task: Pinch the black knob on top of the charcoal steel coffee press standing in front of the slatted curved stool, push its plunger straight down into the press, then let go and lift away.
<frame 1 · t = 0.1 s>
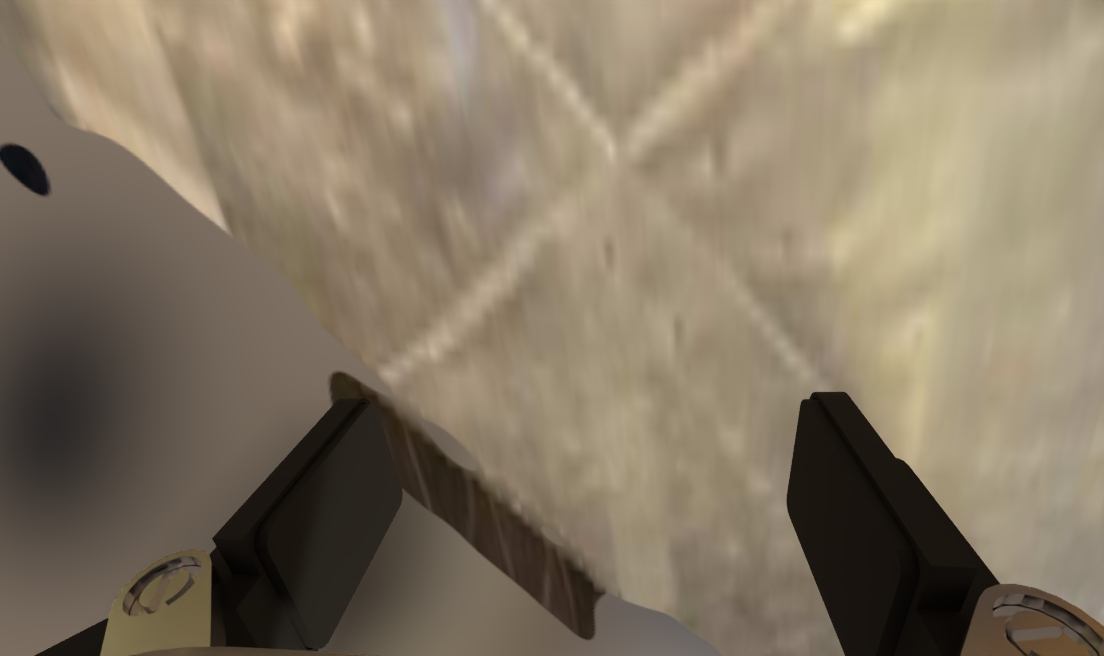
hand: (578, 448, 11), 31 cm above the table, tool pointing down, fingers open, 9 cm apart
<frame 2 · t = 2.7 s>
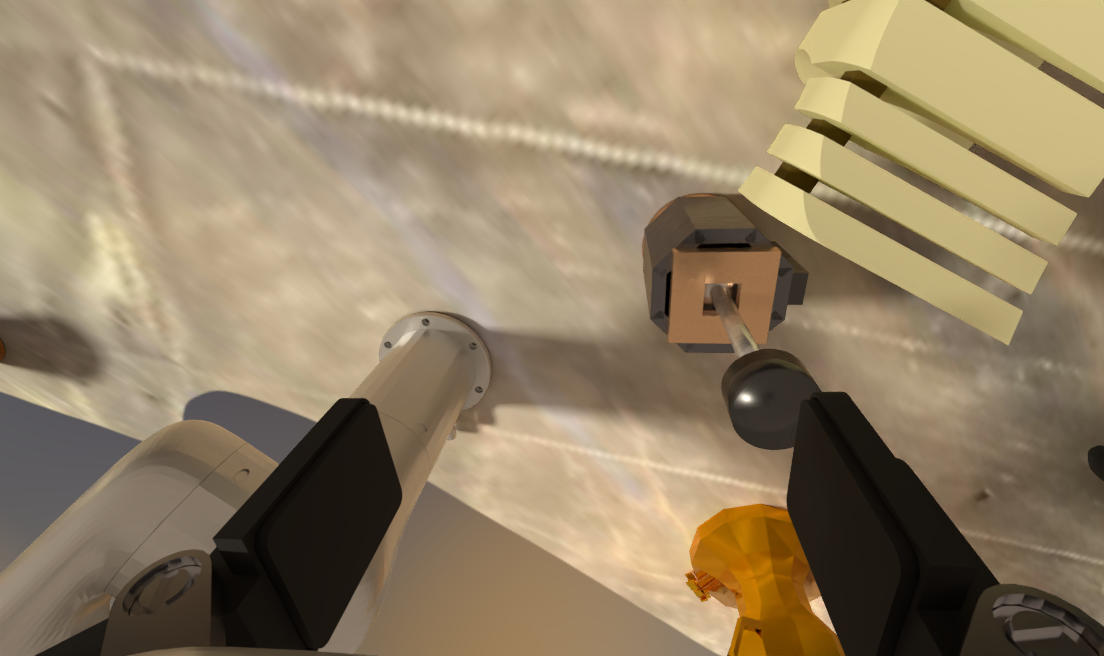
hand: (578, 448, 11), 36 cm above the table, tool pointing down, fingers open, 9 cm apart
plunger: (739, 336, 28), point 19 cm above the table, slide at 0.0 cm
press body: (694, 245, 45), on the table
trophy cup: (749, 556, 61), on the table
slatted curved stool: (919, 31, 36), on the table
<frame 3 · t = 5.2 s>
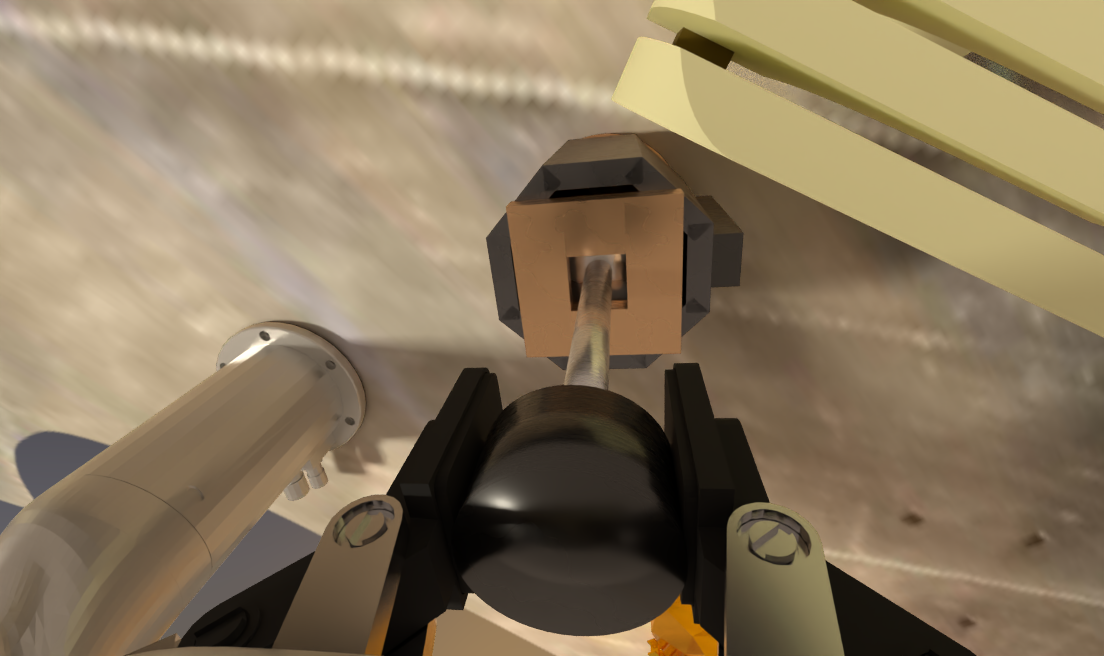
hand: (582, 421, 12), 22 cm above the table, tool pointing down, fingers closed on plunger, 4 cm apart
plunger: (590, 347, 15), point 19 cm above the table, slide at 0.0 cm, touching gripper
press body: (605, 212, 31), on the table
trophy cup: (727, 618, 48), on the table
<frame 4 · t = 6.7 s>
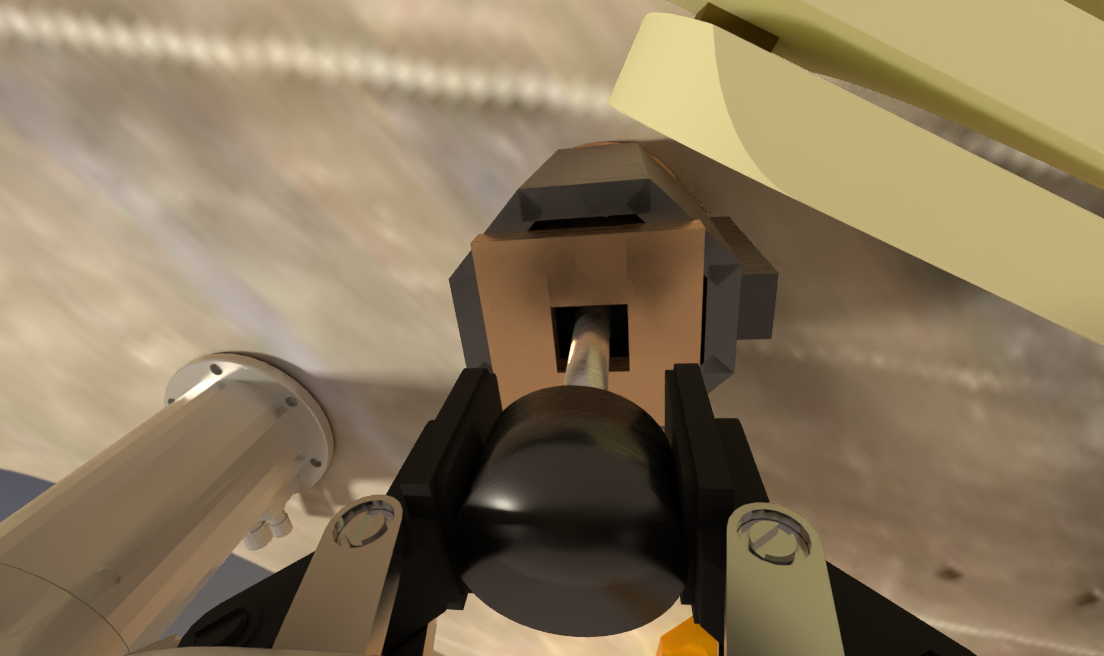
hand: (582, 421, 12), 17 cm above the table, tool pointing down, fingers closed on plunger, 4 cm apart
plunger: (590, 347, 15), point 14 cm above the table, slide at 5.1 cm, touching gripper
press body: (602, 233, 27), on the table
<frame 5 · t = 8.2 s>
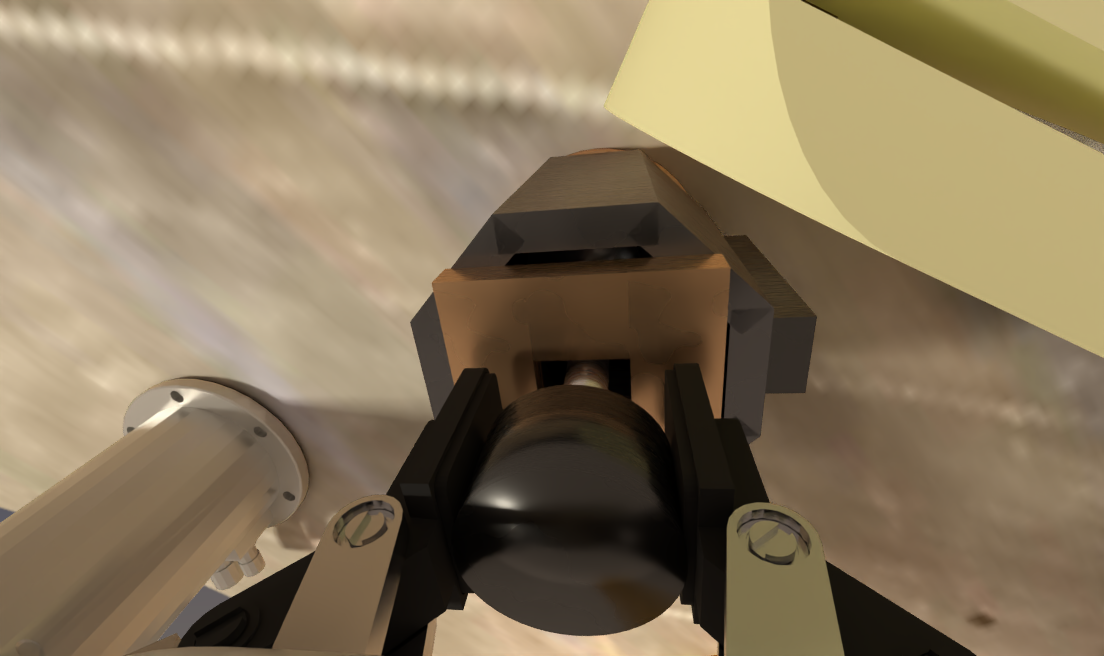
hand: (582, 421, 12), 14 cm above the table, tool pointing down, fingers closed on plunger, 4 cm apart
plunger: (590, 347, 15), point 10 cm above the table, slide at 8.4 cm, touching gripper
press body: (601, 250, 24), on the table
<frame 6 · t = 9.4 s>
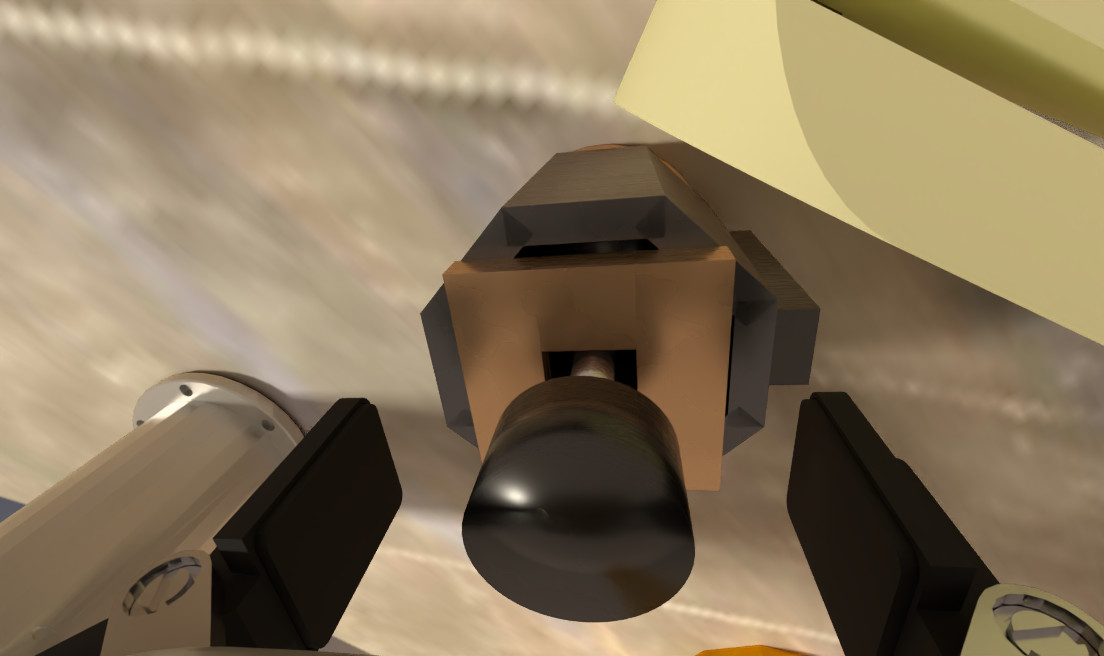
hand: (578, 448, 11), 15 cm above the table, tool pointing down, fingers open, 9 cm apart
plunger: (596, 341, 15), point 10 cm above the table, slide at 8.3 cm
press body: (606, 246, 24), on the table
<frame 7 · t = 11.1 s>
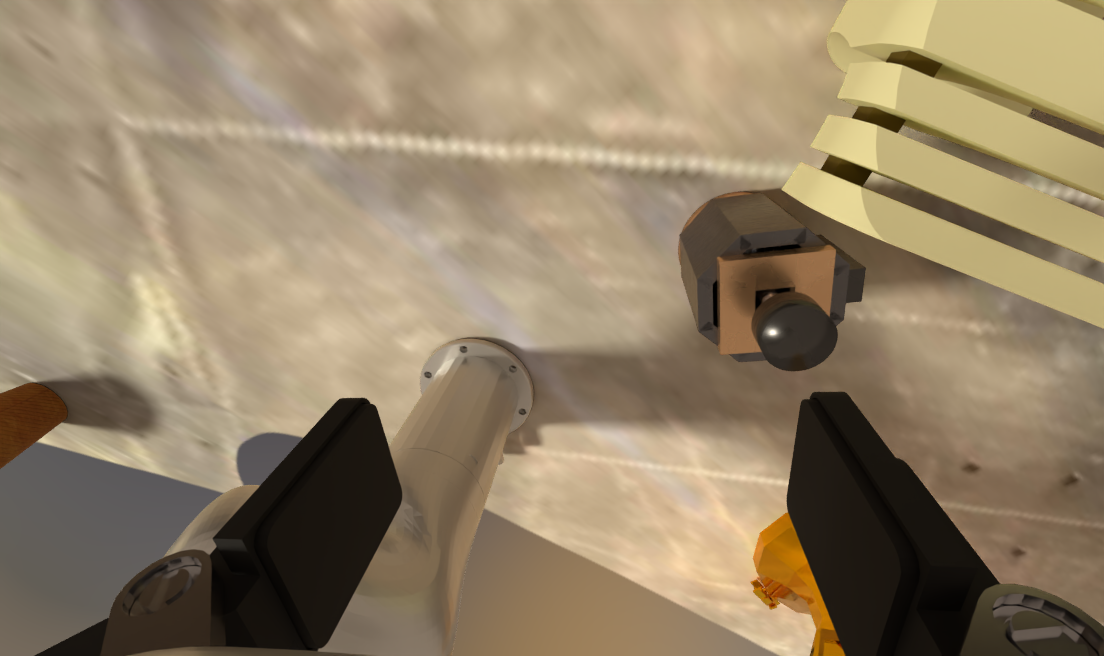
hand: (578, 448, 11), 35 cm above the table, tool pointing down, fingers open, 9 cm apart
disposable coffee cup: (46, 401, 64), on the table
plunger: (763, 289, 34), point 10 cm above the table, slide at 8.3 cm
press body: (733, 246, 43), on the table
trophy cup: (817, 559, 59), on the table
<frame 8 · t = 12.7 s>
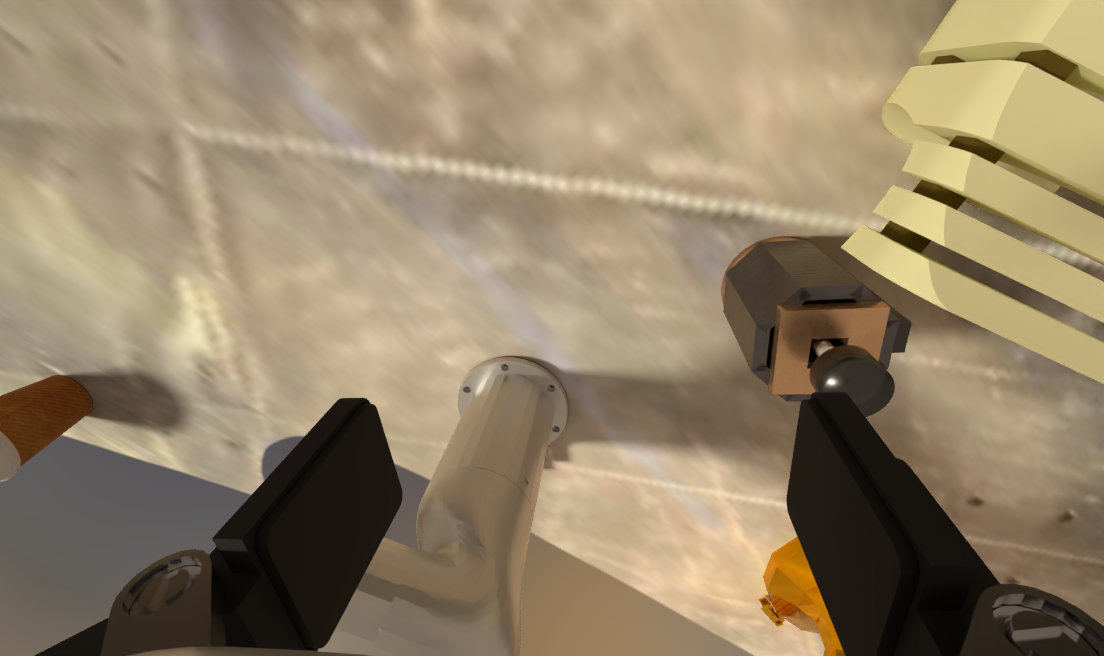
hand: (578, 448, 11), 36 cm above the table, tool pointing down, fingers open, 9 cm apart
disposable coffee cup: (71, 394, 64), on the table
plunger: (813, 335, 36), point 10 cm above the table, slide at 8.3 cm
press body: (774, 286, 45), on the table
trophy cup: (824, 580, 62), on the table
slatted curved stool: (1006, 75, 36), on the table
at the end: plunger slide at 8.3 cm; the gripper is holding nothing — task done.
